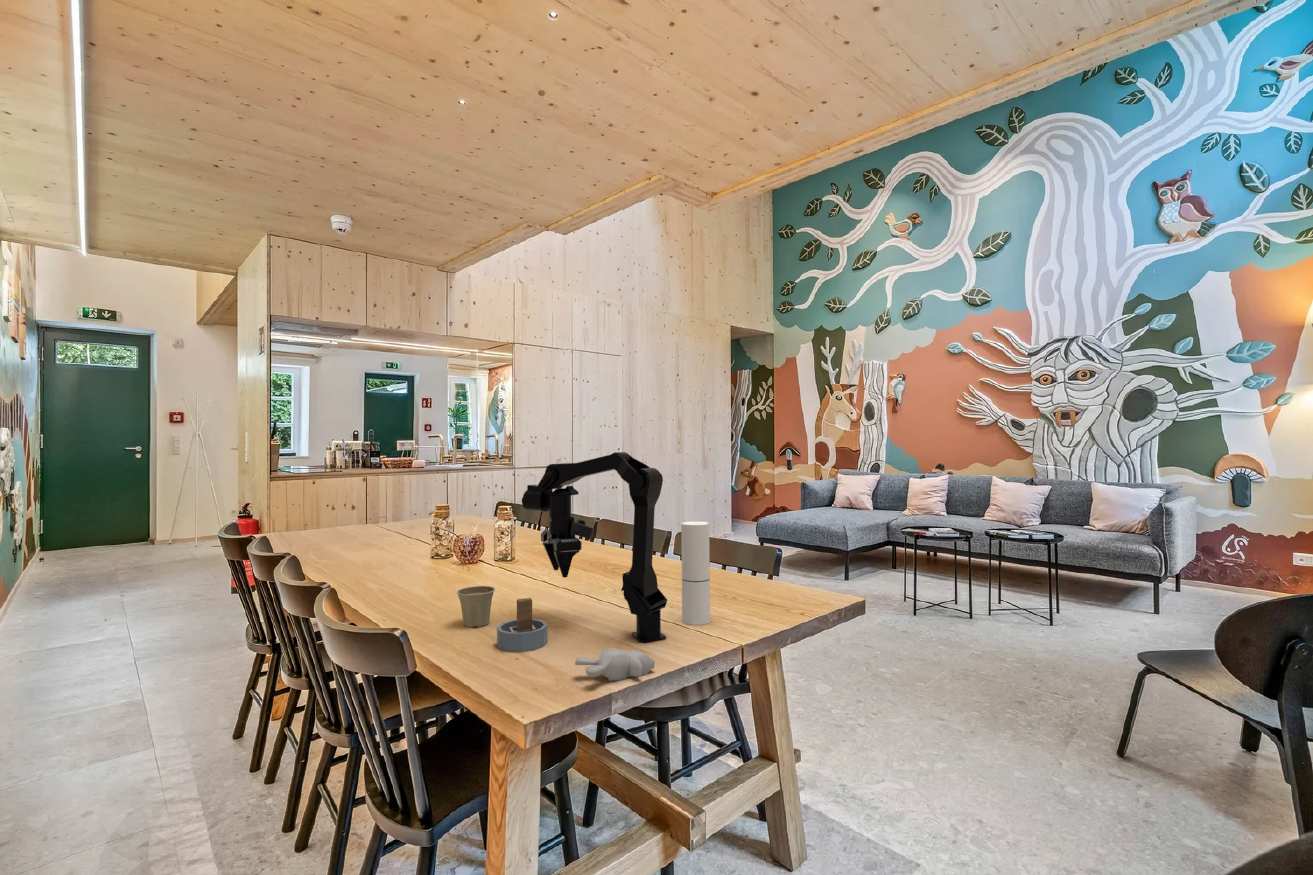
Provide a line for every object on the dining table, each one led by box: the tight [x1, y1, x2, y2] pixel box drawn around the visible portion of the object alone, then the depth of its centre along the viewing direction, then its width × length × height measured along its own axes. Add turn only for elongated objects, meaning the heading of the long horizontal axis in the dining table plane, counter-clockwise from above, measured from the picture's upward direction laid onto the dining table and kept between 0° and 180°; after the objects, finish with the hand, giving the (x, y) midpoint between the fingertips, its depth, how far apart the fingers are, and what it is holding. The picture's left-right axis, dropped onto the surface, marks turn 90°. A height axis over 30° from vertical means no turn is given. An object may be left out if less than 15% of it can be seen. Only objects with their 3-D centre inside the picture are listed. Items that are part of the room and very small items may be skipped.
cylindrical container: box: [680, 520, 711, 626], centre depth 156 cm, size 7×7×25 cm
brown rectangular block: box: [516, 597, 533, 631], centre depth 140 cm, size 2×3×9 cm, turn 112°
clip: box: [509, 624, 536, 633], centre depth 140 cm, size 4×5×2 cm
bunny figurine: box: [574, 647, 656, 682], centre depth 120 cm, size 10×5×15 cm
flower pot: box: [456, 585, 496, 628], centre depth 155 cm, size 9×9×9 cm
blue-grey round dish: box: [496, 618, 549, 653], centre depth 140 cm, size 11×11×4 cm
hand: (560, 573), depth 155 cm, fingers open, 9 cm apart
